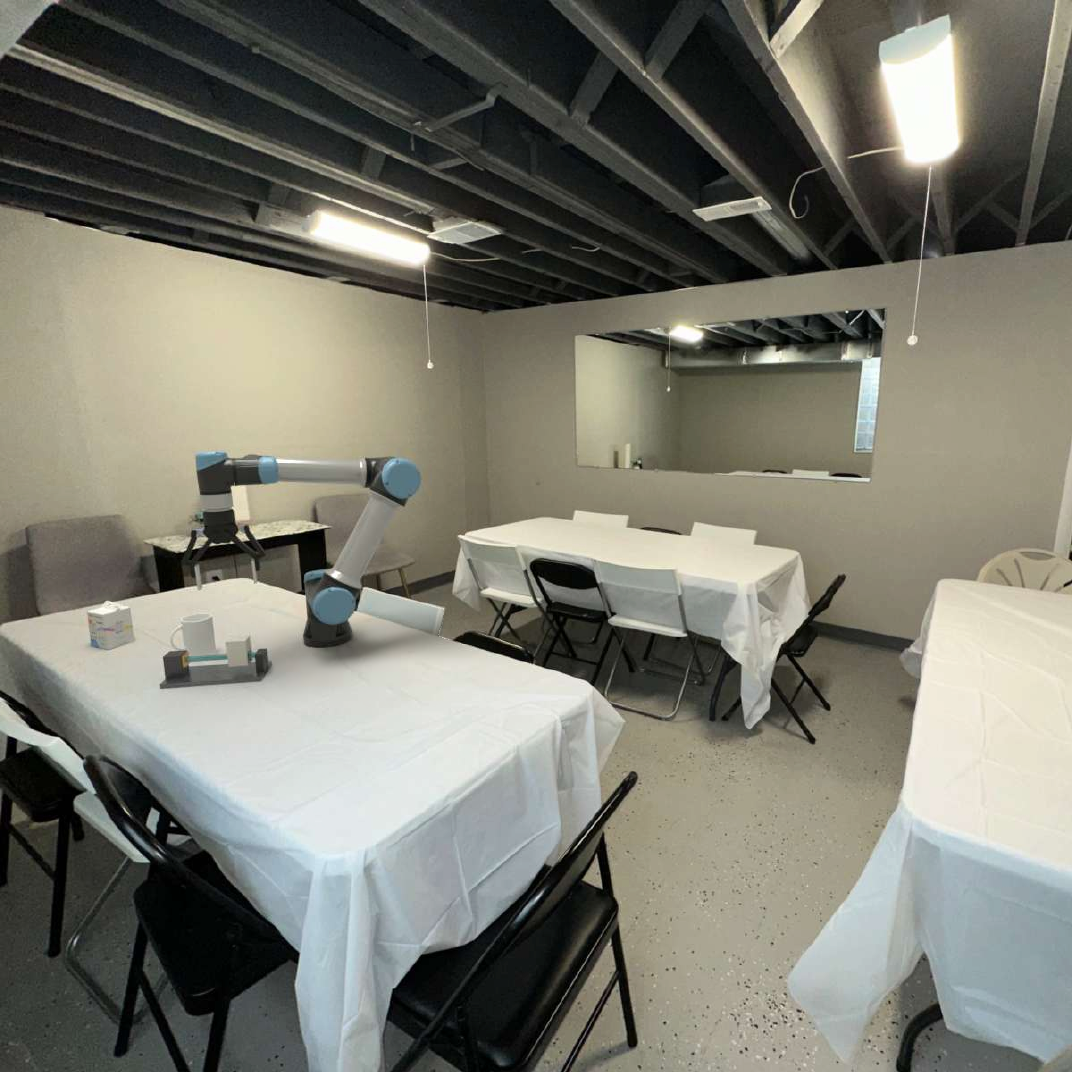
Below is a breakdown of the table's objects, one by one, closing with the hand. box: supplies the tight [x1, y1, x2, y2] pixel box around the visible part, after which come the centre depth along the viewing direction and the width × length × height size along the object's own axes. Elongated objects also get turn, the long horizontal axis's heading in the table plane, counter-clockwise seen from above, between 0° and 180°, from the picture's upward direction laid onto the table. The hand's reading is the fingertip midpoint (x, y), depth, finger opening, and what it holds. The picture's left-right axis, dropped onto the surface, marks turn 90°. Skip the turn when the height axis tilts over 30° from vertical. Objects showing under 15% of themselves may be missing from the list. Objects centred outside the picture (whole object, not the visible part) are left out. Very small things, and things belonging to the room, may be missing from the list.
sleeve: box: [225, 634, 254, 667], centre depth 157 cm, size 5×4×7 cm
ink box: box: [86, 600, 136, 651], centre depth 180 cm, size 9×8×13 cm
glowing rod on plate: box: [159, 647, 273, 689], centre depth 157 cm, size 25×11×7 cm, turn 100°
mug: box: [169, 612, 218, 656], centre depth 170 cm, size 12×8×12 cm
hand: (228, 585), depth 156 cm, fingers open, 13 cm apart
